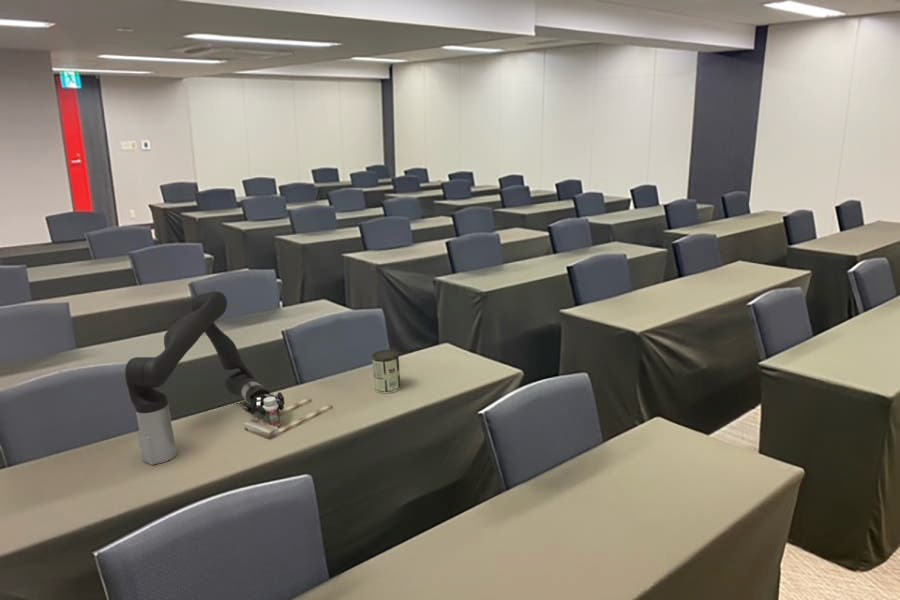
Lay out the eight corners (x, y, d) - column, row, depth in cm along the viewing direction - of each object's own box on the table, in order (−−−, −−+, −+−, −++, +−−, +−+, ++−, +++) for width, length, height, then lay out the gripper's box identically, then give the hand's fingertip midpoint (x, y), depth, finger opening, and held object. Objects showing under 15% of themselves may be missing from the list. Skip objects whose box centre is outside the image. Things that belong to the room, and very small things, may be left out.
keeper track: (269, 439, 208) (268, 432, 207) (244, 429, 215) (243, 423, 215) (332, 408, 229) (331, 401, 228) (307, 400, 237) (307, 394, 236)
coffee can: (385, 381, 251) (382, 348, 247) (406, 385, 246) (404, 351, 242) (368, 390, 243) (366, 356, 239) (390, 395, 237) (387, 360, 234)
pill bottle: (273, 430, 213) (269, 403, 210) (261, 427, 215) (257, 400, 213) (284, 423, 217) (280, 397, 215) (272, 420, 220) (269, 394, 217)
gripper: (234, 390, 221) (251, 406, 208) (273, 379, 229) (292, 394, 216) (237, 410, 223) (254, 427, 210) (275, 398, 231) (294, 414, 218)
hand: (273, 410), depth 213 cm, fingers closed on pill bottle, 5 cm apart
